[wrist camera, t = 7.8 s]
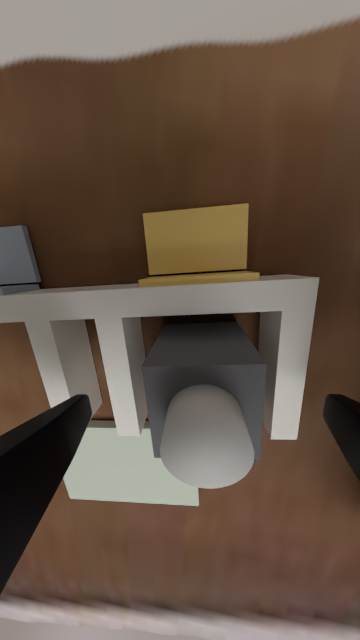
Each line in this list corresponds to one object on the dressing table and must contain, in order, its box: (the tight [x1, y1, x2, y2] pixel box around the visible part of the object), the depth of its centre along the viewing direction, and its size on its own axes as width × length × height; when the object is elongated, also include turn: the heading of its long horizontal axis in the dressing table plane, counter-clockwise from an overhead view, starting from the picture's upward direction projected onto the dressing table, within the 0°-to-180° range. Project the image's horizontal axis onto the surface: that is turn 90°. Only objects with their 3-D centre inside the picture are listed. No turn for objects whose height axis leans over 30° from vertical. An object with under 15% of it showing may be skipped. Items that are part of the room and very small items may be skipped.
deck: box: [63, 420, 199, 506], centre depth 13 cm, size 10×7×1 cm
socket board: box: [0, 203, 319, 440], centre depth 10 cm, size 20×11×2 cm, turn 94°
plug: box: [141, 322, 267, 489], centre depth 8 cm, size 4×4×6 cm
